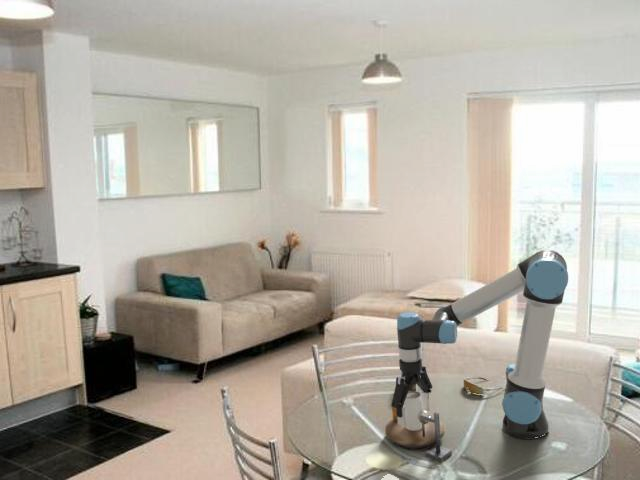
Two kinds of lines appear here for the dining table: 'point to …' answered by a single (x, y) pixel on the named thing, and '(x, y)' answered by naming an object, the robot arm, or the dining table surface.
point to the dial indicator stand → (437, 450)
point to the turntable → (411, 433)
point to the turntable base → (415, 446)
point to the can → (413, 411)
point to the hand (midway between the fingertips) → (413, 417)
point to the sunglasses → (475, 386)
